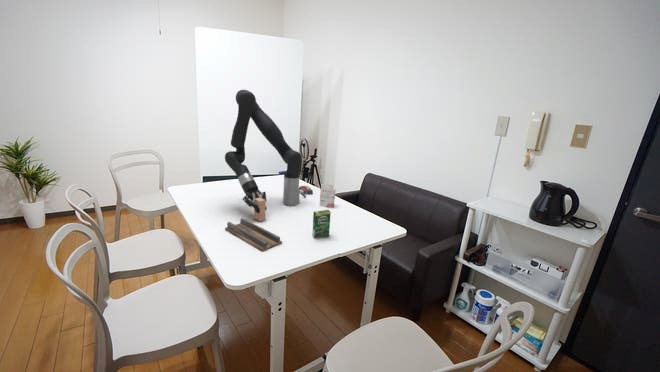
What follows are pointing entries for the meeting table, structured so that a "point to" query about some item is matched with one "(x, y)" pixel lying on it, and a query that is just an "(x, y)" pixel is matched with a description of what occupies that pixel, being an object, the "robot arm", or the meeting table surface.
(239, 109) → the robot arm
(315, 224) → the coffee box
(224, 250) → the meeting table surface
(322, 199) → the ink cartridge box
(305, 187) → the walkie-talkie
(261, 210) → the light orange-brown block
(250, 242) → the door track
